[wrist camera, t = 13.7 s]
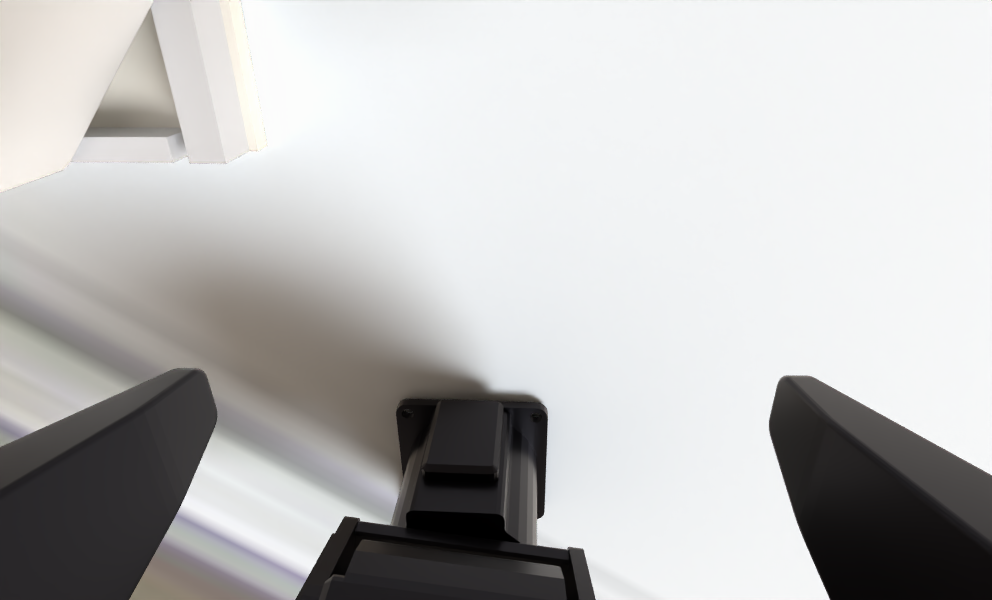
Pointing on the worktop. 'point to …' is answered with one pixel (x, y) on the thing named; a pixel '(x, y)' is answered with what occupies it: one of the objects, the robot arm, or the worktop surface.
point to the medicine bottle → (56, 77)
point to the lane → (180, 91)
